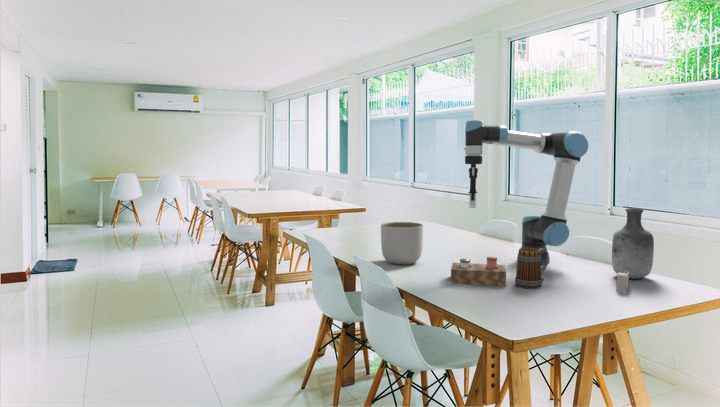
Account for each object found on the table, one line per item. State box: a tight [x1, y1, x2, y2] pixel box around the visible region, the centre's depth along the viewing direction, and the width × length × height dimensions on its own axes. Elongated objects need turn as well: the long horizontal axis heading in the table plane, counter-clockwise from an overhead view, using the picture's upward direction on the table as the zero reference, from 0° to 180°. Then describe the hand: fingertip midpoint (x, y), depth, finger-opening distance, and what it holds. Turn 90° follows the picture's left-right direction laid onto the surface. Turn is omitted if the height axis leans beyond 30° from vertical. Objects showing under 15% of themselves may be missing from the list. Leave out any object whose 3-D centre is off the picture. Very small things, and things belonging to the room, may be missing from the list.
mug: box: [514, 247, 550, 290], centre depth 216 cm, size 16×11×15 cm
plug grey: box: [459, 258, 471, 268], centre depth 224 cm, size 4×4×9 cm
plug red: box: [486, 256, 498, 269], centre depth 222 cm, size 4×4×9 cm
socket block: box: [450, 262, 507, 287], centre depth 223 cm, size 22×14×6 cm, turn 77°
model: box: [615, 270, 630, 294], centre depth 209 cm, size 3×11×8 cm, turn 148°
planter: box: [380, 221, 424, 265], centre depth 261 cm, size 21×21×19 cm
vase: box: [611, 207, 655, 280], centre depth 228 cm, size 16×16×30 cm
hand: (472, 207), depth 239 cm, fingers closed
